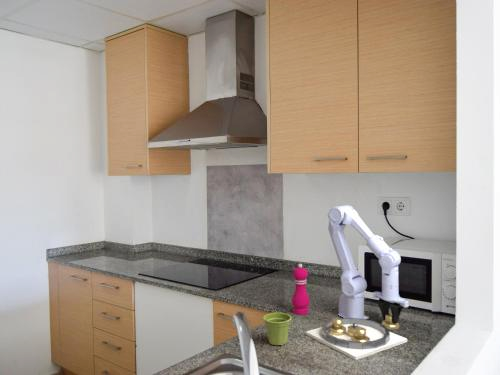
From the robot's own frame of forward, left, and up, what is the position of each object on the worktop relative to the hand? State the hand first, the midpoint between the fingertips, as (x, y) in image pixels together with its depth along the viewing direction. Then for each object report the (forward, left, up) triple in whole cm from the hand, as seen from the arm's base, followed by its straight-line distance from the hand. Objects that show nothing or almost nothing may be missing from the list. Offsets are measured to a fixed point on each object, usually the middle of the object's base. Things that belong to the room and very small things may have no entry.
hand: (390, 321), depth 153 cm
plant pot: (-12, -42, -2) cm, 44 cm away
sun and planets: (0, -20, -1) cm, 20 cm away
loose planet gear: (0, 0, -2) cm, 2 cm away
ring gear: (0, -18, -1) cm, 18 cm away
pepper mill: (-31, -17, -2) cm, 35 cm away
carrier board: (0, -18, -2) cm, 18 cm away
